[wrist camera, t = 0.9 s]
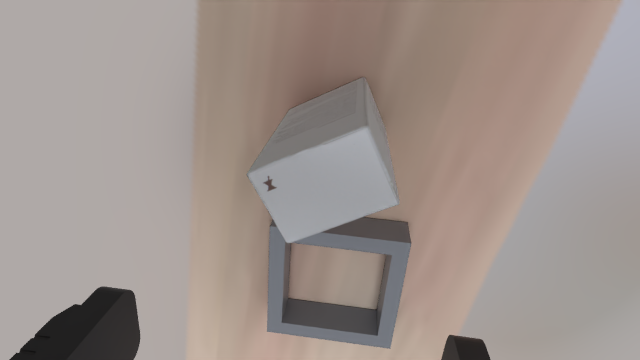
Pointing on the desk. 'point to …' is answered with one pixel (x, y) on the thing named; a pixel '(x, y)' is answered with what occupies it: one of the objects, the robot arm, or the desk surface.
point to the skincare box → (326, 164)
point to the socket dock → (337, 318)
